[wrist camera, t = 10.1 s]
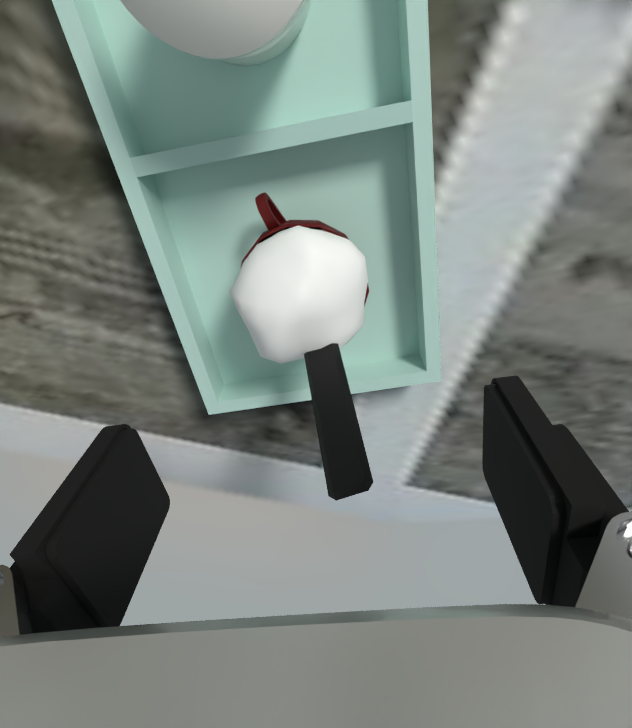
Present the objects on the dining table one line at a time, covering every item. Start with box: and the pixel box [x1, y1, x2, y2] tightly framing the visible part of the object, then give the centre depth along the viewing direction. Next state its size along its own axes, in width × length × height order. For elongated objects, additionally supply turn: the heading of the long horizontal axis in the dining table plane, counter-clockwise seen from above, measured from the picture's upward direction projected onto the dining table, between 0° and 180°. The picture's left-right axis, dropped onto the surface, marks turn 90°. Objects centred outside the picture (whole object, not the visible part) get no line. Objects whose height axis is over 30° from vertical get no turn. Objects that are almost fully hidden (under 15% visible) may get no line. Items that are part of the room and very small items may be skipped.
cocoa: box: [229, 192, 373, 500], centre depth 19 cm, size 10×6×12 cm, turn 2°
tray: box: [52, 0, 441, 415], centre depth 20 cm, size 14×26×3 cm, turn 10°
